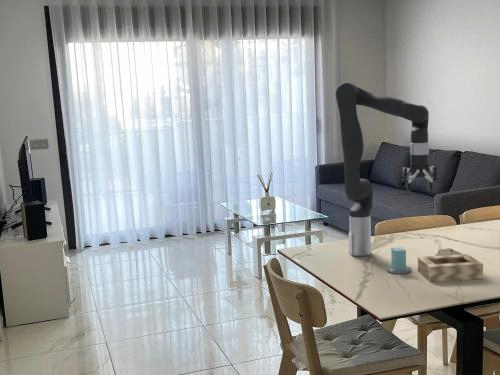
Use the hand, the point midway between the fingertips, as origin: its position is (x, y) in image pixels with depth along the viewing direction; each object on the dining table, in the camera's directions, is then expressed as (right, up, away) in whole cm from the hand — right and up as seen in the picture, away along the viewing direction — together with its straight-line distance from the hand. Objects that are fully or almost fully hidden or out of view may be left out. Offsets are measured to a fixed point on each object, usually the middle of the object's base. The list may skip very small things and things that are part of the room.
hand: (419, 191), depth 250 cm
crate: (+4, -32, -24) cm, 40 cm away
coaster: (-13, -32, -16) cm, 38 cm away
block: (-13, -31, -16) cm, 37 cm away
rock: (+11, -29, -5) cm, 32 cm away
